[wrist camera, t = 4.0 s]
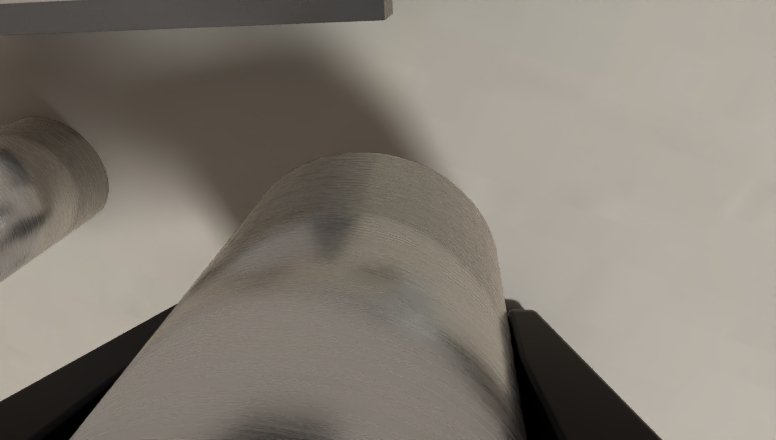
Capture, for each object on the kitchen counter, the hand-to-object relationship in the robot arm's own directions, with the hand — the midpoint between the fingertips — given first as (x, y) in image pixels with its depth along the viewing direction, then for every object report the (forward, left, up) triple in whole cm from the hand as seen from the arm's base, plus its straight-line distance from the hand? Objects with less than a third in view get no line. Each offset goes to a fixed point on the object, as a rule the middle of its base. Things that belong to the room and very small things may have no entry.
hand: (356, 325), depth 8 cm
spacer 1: (-2, +16, -12) cm, 20 cm away
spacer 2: (0, 0, -2) cm, 2 cm away
